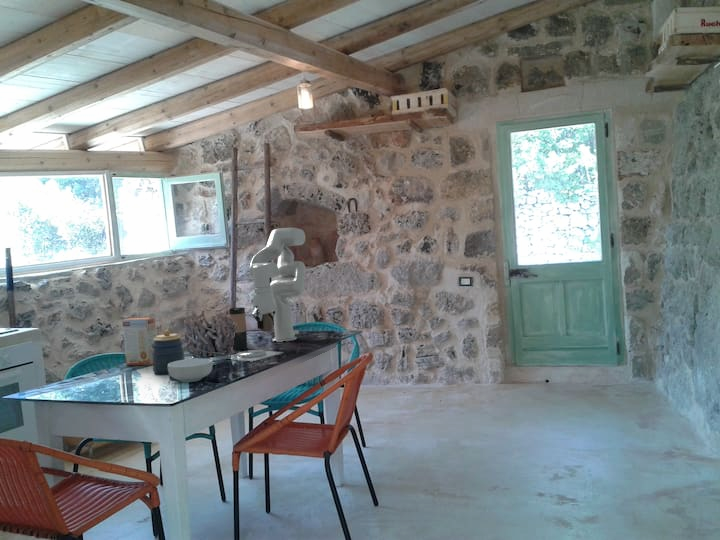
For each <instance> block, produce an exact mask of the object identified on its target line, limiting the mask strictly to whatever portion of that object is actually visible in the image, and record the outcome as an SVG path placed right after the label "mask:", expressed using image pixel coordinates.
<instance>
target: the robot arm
mask: <svg viewBox="0 0 720 540" xmlns="http://www.w3.org/2000/svg"><path fill="white" fill-rule="evenodd" d="M305 242H306V233H305V232H304V230H303V229H302V228H298V227H297V228H296V227H282V228H281V227H279V228H274V229H272V230H271V232H270V234H269V237H268V240H267V243H266V245H265V247H264V248H262V249H261V250H259V251H258V252H257V253H255V255H254V256H253V257H252V258H251V261H250V264H249V266H248V275H249V276H250V277H251V278H252V279H253V287H254V288H253V289H254V294H253V299H252V306H253V307H252V308H253V311H252V312H251V316H252V317H253V318H254V319H255V321H256V327H257V330H260V329H263V321H261V320H262V316H263V315H264V314H268V315H269V316H270V317H271V319H272V321H273V328H274V337H273V338H271V341H272V342H274V341H276V342H277V343H283V341H286V342H291V341H292V342H293V341H295V340H297V338H298V337H297V336H295V335H299V333H300V331H299V330H298V329H297V330H296V329H295V330H294V327H293V326H294V325H293V324H294V323H293V313H292V304H291V302H290V301H289V300H288V299H287V298H299V297H301V296H302V295H303V293H304V289H305V282H306V276H307V275H306V274H307V267H306V265H305V263H304V262H303V261H298V260H297V261H296V260H295V261H294V259H295V255H294V253H293V252H292V250H291V249H290V248H289V247H293V246H302V245H304V244H305ZM276 259H277V261H276V263H275V262H270V261H274V260H276ZM273 278H277V279H275V280H272V281H271V280H270V279H273Z"/></svg>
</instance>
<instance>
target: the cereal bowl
mask: <svg viewBox="0 0 720 540" xmlns="http://www.w3.org/2000/svg"><path fill="white" fill-rule="evenodd" d="M213 367H214V366H213V360H212V359H210V358H187V359H185V360H179V361H174V362H171V363H169V364H168V372H169V374H168V375H169V376H170V377H172V378H173V379H175V380H178V381H179V382H180V383H196V382H198V381H202V379H203V378H205V377H208V375H210V374H211V372H212V370H213Z"/></svg>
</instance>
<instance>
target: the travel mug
mask: <svg viewBox="0 0 720 540" xmlns="http://www.w3.org/2000/svg"><path fill="white" fill-rule="evenodd" d="M228 312H229V313H228V314H229V319H230V318H231V319H232V320H233V321H234V322H235V323H237V330H236V332H235V337H234V345H233V349H232V351H243V350H242V349H244V350H247V349H248V336H247V335H248V334H247V321H246V312H245V307H230V308H229V309H228ZM246 348H247V349H246Z"/></svg>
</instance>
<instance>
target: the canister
mask: <svg viewBox="0 0 720 540" xmlns="http://www.w3.org/2000/svg"><path fill="white" fill-rule="evenodd" d="M181 339H182V336H181V335H179V334H177V333H171V331H170V330H169V329H165V330H164V331H163V334H159V335H156V338H154V339H153V341H154V343H153V344H152V345H151V346H152V347H153V353H152V355H153V365H152V367H153V368H152V369H153V370H152V371H153V373H154V375H161V376H162V375H164V376H165V375H166V376H167V375H170V374H169V372H168V364H169V363H171V362H174V361H179V360H185V358H186V357H185V349H184V346H183V345H184V343H185V342H184V341H183V340H181Z"/></svg>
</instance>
